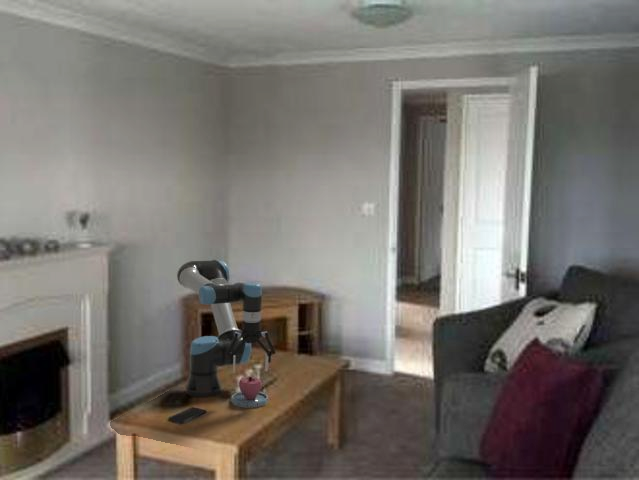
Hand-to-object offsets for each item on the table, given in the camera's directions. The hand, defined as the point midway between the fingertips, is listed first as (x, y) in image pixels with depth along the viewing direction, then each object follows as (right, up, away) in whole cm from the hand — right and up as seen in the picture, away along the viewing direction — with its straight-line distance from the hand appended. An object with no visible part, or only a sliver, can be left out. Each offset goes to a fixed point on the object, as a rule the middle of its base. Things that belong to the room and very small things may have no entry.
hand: (250, 370), depth 280 cm
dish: (0, -13, +1) cm, 13 cm away
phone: (-22, -15, -18) cm, 32 cm away
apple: (0, -12, +1) cm, 12 cm away
